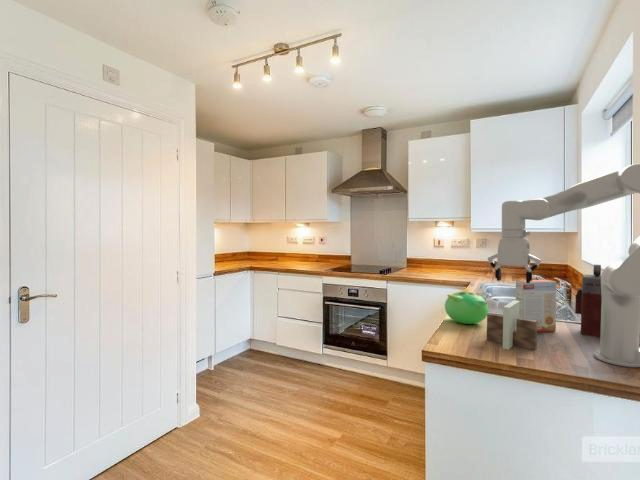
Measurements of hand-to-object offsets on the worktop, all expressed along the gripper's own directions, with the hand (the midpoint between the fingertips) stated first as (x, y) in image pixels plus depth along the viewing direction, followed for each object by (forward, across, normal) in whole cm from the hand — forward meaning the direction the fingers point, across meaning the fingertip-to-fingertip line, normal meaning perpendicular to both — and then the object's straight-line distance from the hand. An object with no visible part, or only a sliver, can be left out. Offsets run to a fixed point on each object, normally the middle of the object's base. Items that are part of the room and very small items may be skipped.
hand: (513, 281), depth 126 cm
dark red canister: (+24, -20, -35) cm, 47 cm away
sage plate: (+23, +1, 0) cm, 23 cm away
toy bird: (+23, +23, -16) cm, 36 cm away
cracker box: (+24, -2, -25) cm, 35 cm away
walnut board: (+23, +1, 0) cm, 23 cm away
